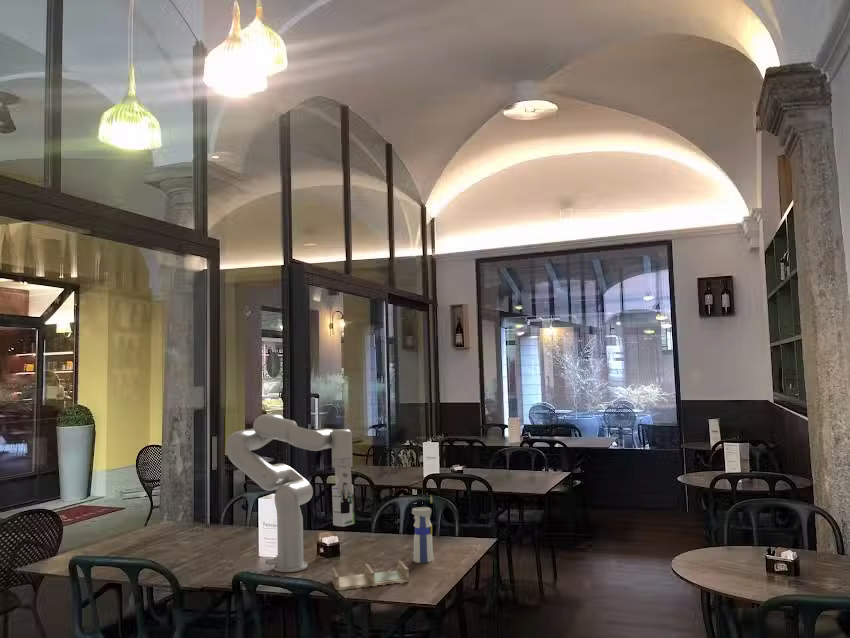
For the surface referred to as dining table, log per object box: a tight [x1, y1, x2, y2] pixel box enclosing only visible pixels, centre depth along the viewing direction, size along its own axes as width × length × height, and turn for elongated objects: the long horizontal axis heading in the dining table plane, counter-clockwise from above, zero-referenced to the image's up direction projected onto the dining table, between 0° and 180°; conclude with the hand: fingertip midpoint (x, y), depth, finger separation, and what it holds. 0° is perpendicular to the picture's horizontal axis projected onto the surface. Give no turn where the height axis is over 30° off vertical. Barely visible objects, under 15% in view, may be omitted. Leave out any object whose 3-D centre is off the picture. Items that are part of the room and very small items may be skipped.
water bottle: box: [411, 495, 434, 564], centre depth 261 cm, size 8×9×25 cm
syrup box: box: [331, 484, 356, 527], centre depth 249 cm, size 6×6×14 cm
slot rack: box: [330, 559, 410, 591], centre depth 234 cm, size 25×12×4 cm, turn 106°
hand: (343, 510), depth 249 cm, fingers closed on syrup box, 7 cm apart
